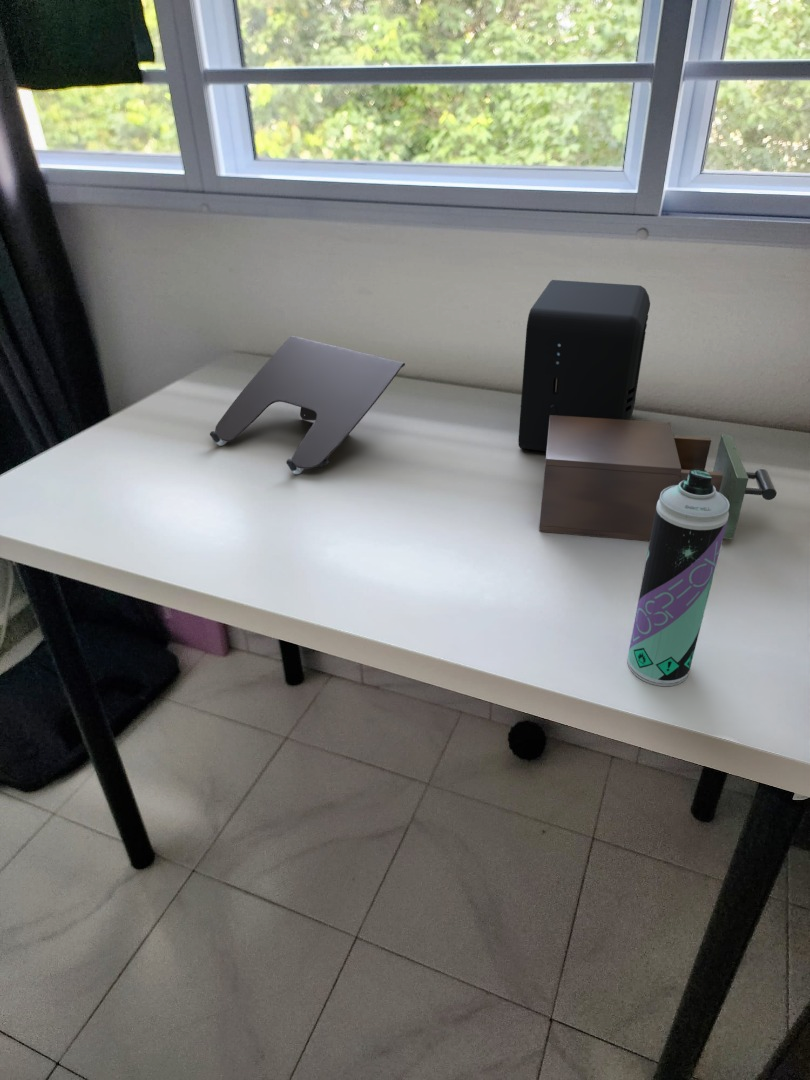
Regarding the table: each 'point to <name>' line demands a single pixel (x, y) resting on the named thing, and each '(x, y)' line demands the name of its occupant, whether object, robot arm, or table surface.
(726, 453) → the drawer
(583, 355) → the black nas enclosure
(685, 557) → the spray can
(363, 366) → the laptop tray
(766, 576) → the table surface
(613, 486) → the cabinet
